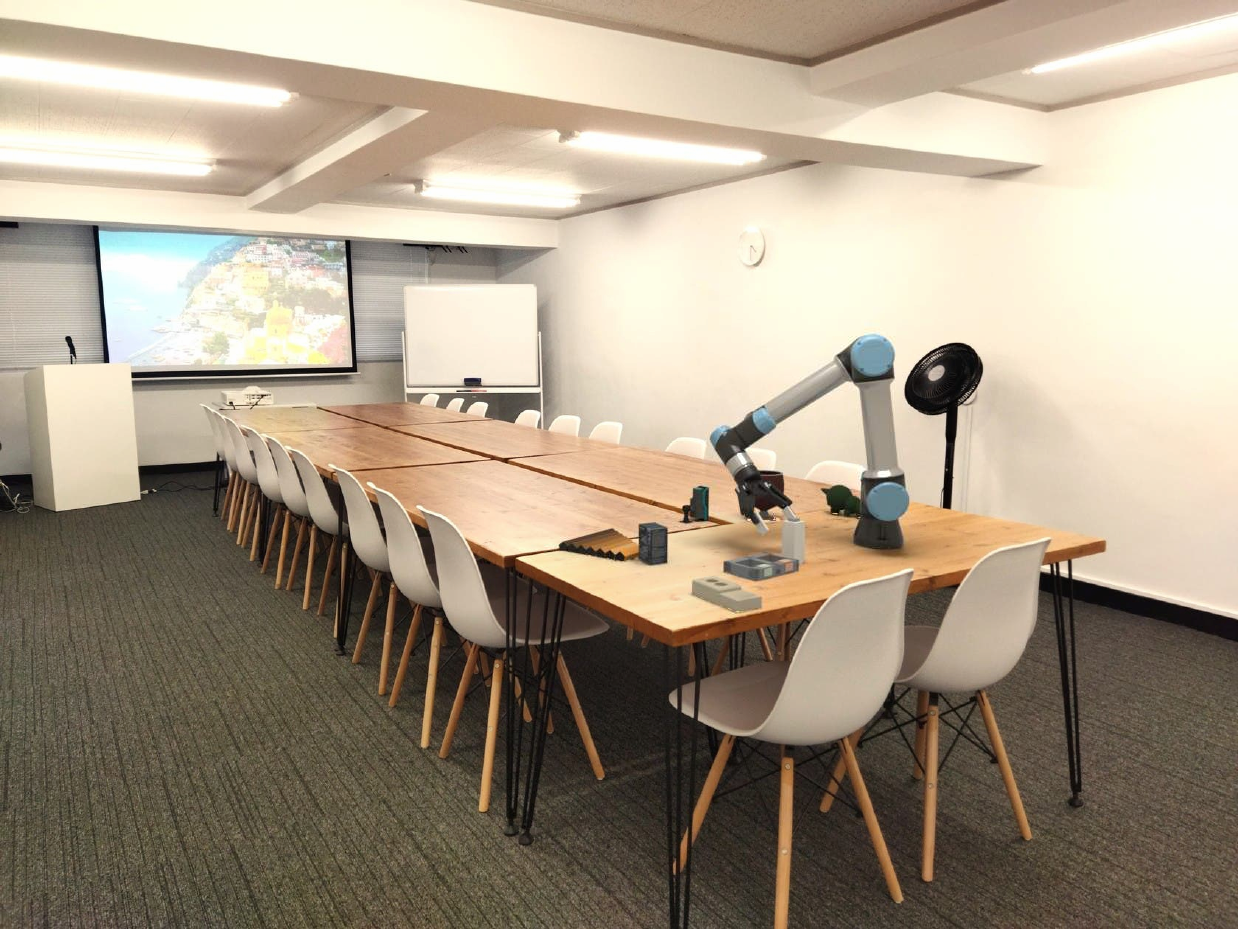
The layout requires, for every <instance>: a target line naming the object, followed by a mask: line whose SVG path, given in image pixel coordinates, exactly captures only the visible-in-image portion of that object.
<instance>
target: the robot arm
mask: <svg viewBox="0 0 1238 929" xmlns="http://www.w3.org/2000/svg"><path fill="white" fill-rule="evenodd" d="M895 357H896V353H895V348H894V346H893V344H892V343H891V342H890V340H889V339H887V338H886V337H885V336H883V335H880V334H875V333H874V334H873V333H872V334H871V333H870V334H866V335H862V336H859V337H857V338H856V339H855V340H853V341H852V342H851V343H850V344H849V345H848V346H847V347H846V348H844V349H842V350H841V351H840V352H839V353H837V354H835V355H834V357H833V360H832V361H830V362H828V363H827V364H825V365H824V366H822V367H821V368H819V369H818V370H817V371H815V372H813V373H812V374H810V375H808V376H807V377H805V378H803V379H801V381H799V382H796V384H794V385H792V386H790V388H788V389H786V390H784V391H782V392H781V393H780V394H779V395H776V396H775V397H774V398H772V399H770V400H768V401H767V402H765V404H763V405H761V406H759V407H757V408H756V409H754V410H752V411H750V412H748V413H747V414H746V415H745V417H744V418H743V420H742V421H740V422H739V423H737V424H736V425H735V426H733V427H730V426H729V425H722V426H720V427H717V428H715V429H714V430H713V431H712V432H711V434H710V436H709V440H710V441H709V442H710V443H711V445H712V447H713V450H714V451H715V452H716V454H717V456H719V459H720V460H721V462H722V463H723V465H724V466H725V467H726V469H727V471H728V472H729V473H730V476H731V477H732V478H733V480H734V483H735V484H736V487H735V488H734V492H735V493H736V495H737V502H738V506H739V512H740V515H741V516H742V517H744V518H745V519H746V518H748V517H749V518H750V519H751V521H752V522H751V523H752V524H753V525H754V526H755V527H756V529H757V530H758V532H759V534H760V535H761V536H764V535H766V534H767V532H768V531H769V530H770V529H769V527H768V525H767V524H765V523H764V521H763V520H762V518H761V516H760V515H759V512H758V511H755V509H756V508H755V499H757V498H763V499H767V500H768V501H770V502H771V503H773V504H775V505H776V506H777V507H778V508H779V509H780V510H781V513H782V514H783V516H784V517H785V520H788V518H792V517H795V518H797V516H796V515H795V514H796V513H795V512H794V511H793V509H792V508H791V505H793V503H794V502H793V500H791V499H790V498H789V496H787V495H786V494H785V493H784V494H783V493H782V492H781V491H780V490H779V489H778V488H776V487H775V486H774V485H773V483H772V482H771V481H770V480H768V481H767V482H766V483H764V482H763V481H762V480H761V474H760V472H759V471H758V470H759V469H758V468H757V466H756V465H755V463H754V461H753V460H752V458H751V457H750V455H749V453H747V451H746V450H747V449H748V448H749V447H750V446H752V445H753V444H755V443H757V442H758V441H759V440H761V439H763V438H764V437H765V436H766V435H769V434H770V433H771V432H772V431H773V430H775V429H776V428H777V425H779V424H780V423H782V422H783V421H785V420H786V419H788V418H791V417H792V416H793V415H795V414H797V413H798V412H800V411H801V410H804V408H806V407H808V406H809V405H811V404H812V403H815V402H816V401H817V400H819V399H821V398H823V397H824V396H825V395H827V394H829V393H830V392H833V391H834V390H835V389H837V388H838V387H840V386H842V385H843V384H845V383H846V382H848V383H852V384H853V385H854V386H855V387H857V388H858V389H859V396H860V397H859V398H860V408H861V418H862V425H863V426H862V427H863V437H864V445H865V456H866V465H867V469H866V470H864V471H862V472H861V477H860V498H859V499H860V518H859V519H858V522H857V524H856V527H855V529H854V533H853V534H852V542H853V544H855V545H857V544H858V545H857V546H860V545H861V547H865V548H871V547H872V548H874V549H896V548H897V547H898V548H901V547H903V546H904V541H905V539H904V535H903V532H902V531H903V530H902V528H901V524H900V521H899V519H900V518H901V517H903V516H904V514H906V512H907V511H908V508H909V507H910V495H909V491H907V486H906V478H905V477H906V476H905V471H904V470H903V469H901V468H900V466H899V460H898V450H897V442H896V433H895V431H896V430H895V423H894V413H893V403H892V402H893V401H892V394H891V393H892V392H891V384H892V383H893V382H894V381H895V379H896V378H895V367H894V363H895ZM766 491H767V493H766ZM746 493H747V498H746Z"/></svg>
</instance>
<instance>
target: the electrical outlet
mask: <svg viewBox="0 0 1238 929" xmlns="http://www.w3.org/2000/svg"><path fill="white" fill-rule="evenodd" d="M691 594H692V595H693V594H694V596H695V595H696V597H698V598H700V597H702V598H704V599H703V600H705V601H707V600H709V601H708V602H710V601H711V602H710V603H712V602H713V604H715V603H717V604H719V605H718V606H720V605H722V606H724V607H726V608H725V609H727V608H730V609H732V610H733V611H732V610H731V611H732V612H734V611H744V612H747V611H746V610H749V611H752V610H751V609H754V610H756V609H755V608H759V609H763V608H762V606H763V605H762V600H763V597H762V595H758V594H755V593H753V592H751V591H748V590H745V589H743V588H742V586H741V585H740V584H738V583H735V582H731V581H729V580H726V579H724V578H722V577H718V576H716V575H713V576H707V577H702V578H695V579H692V580H691ZM702 598H701V599H702ZM717 604H716V605H717ZM722 606H721V607H722ZM724 607H723V608H724Z"/></svg>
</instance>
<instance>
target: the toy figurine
mask: <svg viewBox="0 0 1238 929" xmlns="http://www.w3.org/2000/svg"><path fill="white" fill-rule="evenodd" d="M820 491H821V492H823V494H824V495H825V499H826V500H825V501H826V506H828V507H829V508H830V510H829V511H830V513H831V514H832V513H838V514H840V512H841V511H843V515H844V516H846V517H850V516H851V515H855V518H856V517H860V498H859V496H857V495H853V492H852V491H851V489H850V488H849V487H848V486H847V485H846V486H845V485H844V484H835V485H833V486H831V487H829V488H826V487H825V488H823V487H822V488H820Z"/></svg>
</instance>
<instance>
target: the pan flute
mask: <svg viewBox="0 0 1238 929" xmlns="http://www.w3.org/2000/svg"><path fill="white" fill-rule="evenodd" d="M558 549H559V551H562V552H569V553H573V554H578V555H584V556H585V555H587V556H589V555H591V557H597V558H600V559H605V558H606V559H607V558H609V559H608V560H611V559H612V560H611V561H615V560H616V561H618V562H622V561H624V562H628V561H630V560H633V559H635V558H639V543H637V542H636V541H634V540H632V539H631V538H628V537H627V536H626V535H624V534H622V532H621V533H620V532H619V531H618V530H615V529H614V527H611V528H607V529H604V530H601V531H597V532H593V533H589V534H586V535H582V536H577V537H575V538H571V539H567V540H564V541H561V542H560V543H559V544H558ZM596 555H597V556H596ZM614 559H615V560H614Z"/></svg>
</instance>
